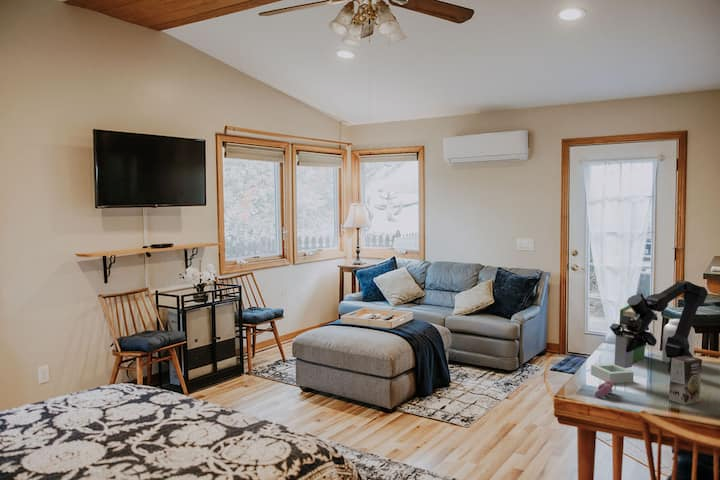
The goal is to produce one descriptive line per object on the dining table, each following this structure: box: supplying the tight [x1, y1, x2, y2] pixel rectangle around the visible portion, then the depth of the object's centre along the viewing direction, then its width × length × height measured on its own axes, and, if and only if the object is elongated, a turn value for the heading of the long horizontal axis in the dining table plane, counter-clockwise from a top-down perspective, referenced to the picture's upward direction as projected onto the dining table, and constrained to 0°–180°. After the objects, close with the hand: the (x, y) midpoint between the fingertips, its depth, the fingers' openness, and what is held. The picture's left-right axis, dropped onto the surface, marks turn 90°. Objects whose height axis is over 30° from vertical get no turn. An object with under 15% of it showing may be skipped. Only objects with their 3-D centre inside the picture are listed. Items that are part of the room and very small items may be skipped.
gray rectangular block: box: [614, 335, 633, 369], centre depth 224 cm, size 5×5×12 cm
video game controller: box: [594, 380, 616, 398], centre depth 209 cm, size 10×5×7 cm, turn 149°
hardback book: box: [619, 304, 647, 365], centre depth 260 cm, size 18×7×24 cm, turn 140°
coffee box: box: [668, 356, 703, 406], centre depth 204 cm, size 9×6×16 cm
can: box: [661, 318, 696, 365], centre depth 254 cm, size 12×12×20 cm
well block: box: [590, 363, 635, 384], centre depth 230 cm, size 11×12×4 cm
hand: (621, 350), depth 223 cm, fingers closed on gray rectangular block, 5 cm apart
